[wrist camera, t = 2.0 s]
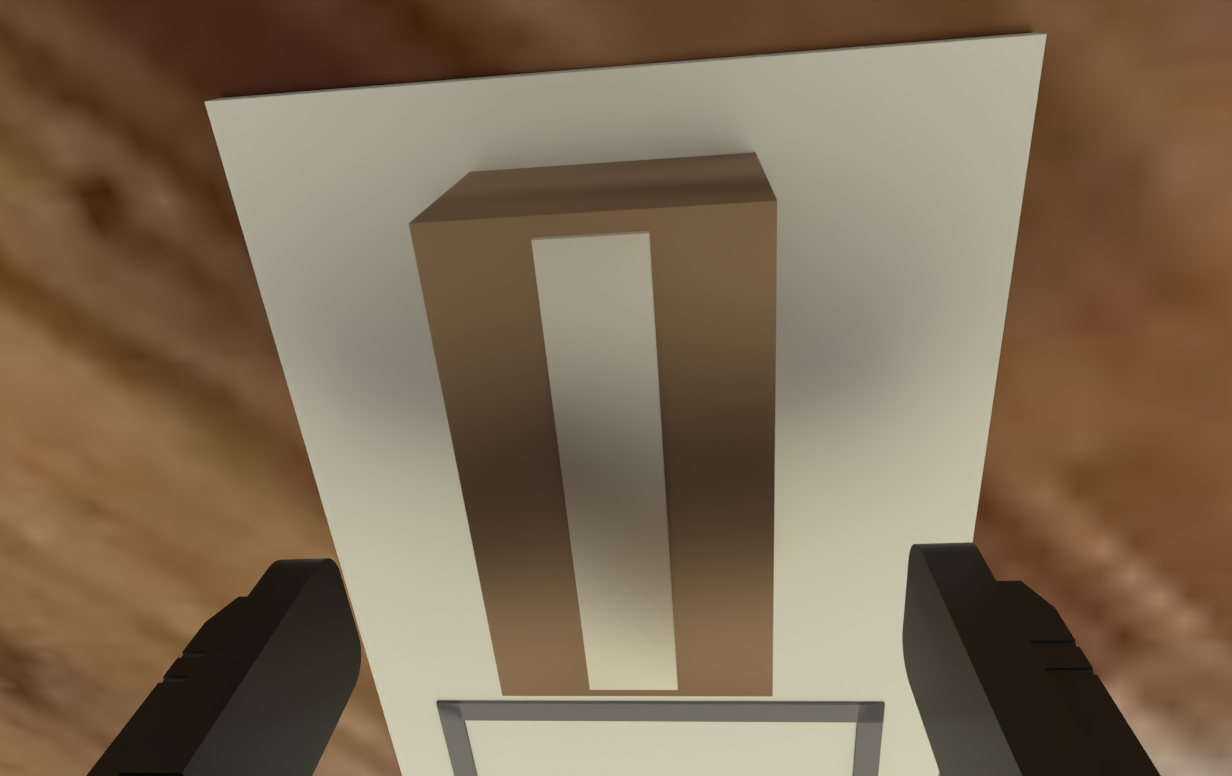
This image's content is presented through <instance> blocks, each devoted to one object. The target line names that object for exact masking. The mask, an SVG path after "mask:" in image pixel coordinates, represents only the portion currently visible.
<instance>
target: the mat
mask: <svg viewBox="0 0 1232 776" xmlns="http://www.w3.org/2000/svg"><path fill="white" fill-rule="evenodd" d="M1046 35H1047V34H1042V33H1023V34H1010V35H998V36H985V37H973V38H961V39H948V40H936V41H923V42H911V43H899V44H886V45H874V46H861V47H849V48H837V49H824V50H812V51H799V52H787V53H774V54H762V55H750V56H737V57H725V58H712V59H700V60H688V61H675V62H663V63H650V64H638V65H626V66H613V67H601V68H588V69H576V70H564V71H551V72H539V73H526V74H514V75H502V76H489V77H477V78H464V79H452V80H440V81H427V82H415V83H402V84H390V85H378V86H365V87H353V88H340V89H328V90H316V91H303V92H291V93H278V94H266V95H254V96H241V97H229V98H218V99H214V100H210V101H205V105H206V109H207V112H208V115H209V119H210V122H211V126H212V129H213V132H214V136H215V139H216V143H217V146H218V149H219V153H220V156H221V160H222V163H223V166H224V170H225V173H226V177H227V180H228V183H229V187H230V190H231V194H232V197H233V201H234V204H235V207H236V211H237V214H238V218H239V221H240V224H241V228H242V231H243V235H244V238H245V241H246V245H247V248H248V252H249V255H250V258H251V262H252V265H253V269H254V272H255V276H256V279H257V282H258V286H259V289H260V293H261V296H262V299H263V303H264V306H265V310H266V313H267V316H268V320H269V323H270V327H271V330H272V333H273V337H274V340H275V344H276V347H277V351H278V354H279V357H280V361H281V364H282V368H283V371H284V374H285V378H286V381H287V385H288V388H289V391H290V395H291V398H292V402H293V405H294V408H295V412H296V415H297V419H298V422H299V425H300V429H301V432H302V436H303V439H304V443H305V446H306V449H307V453H308V456H309V460H310V463H311V466H312V470H313V473H314V477H315V480H316V483H317V487H318V490H319V494H320V497H321V500H322V504H323V507H324V511H325V514H326V518H327V521H328V524H329V528H330V531H331V535H332V538H333V541H334V545H335V548H336V552H337V555H338V558H339V562H340V565H341V569H342V572H343V575H344V579H345V582H346V586H347V589H348V592H349V596H350V599H351V603H352V606H353V610H354V613H355V616H356V620H357V623H358V627H359V630H360V633H361V637H362V640H363V644H364V647H365V650H366V654H367V657H368V661H369V664H370V667H371V671H372V674H373V678H374V681H375V685H376V688H377V691H378V695H379V698H380V702H381V705H382V708H383V712H384V715H385V719H386V722H387V725H388V729H389V732H390V736H391V739H392V742H393V746H394V749H395V753H396V756H397V759H398V763H399V766H400V770H401V773H402V776H938V775H939V769H938V766H937V763H936V760H935V757H934V754H933V751H932V748H931V745H930V743H929V740H928V737H927V734H926V731H925V728H924V725H923V722H922V719H921V716H920V713H919V710H918V707H917V705H916V702H915V699H914V696H913V693H912V690H911V687H910V684H909V681H908V677H907V673H906V668H905V663H904V656H903V644H902V632H903V619H904V607H905V595H906V584H907V572H908V560H909V553H910V549H911V547H912V545H913V544H930V543H966V542H971V543H972V542H973V535H974V528H975V521H976V514H977V508H978V501H979V494H980V487H981V480H982V473H983V467H984V460H985V453H986V446H987V439H988V432H989V425H990V419H991V412H992V405H993V398H994V391H995V384H996V378H997V371H998V364H999V357H1000V350H1001V343H1002V336H1003V330H1004V323H1005V316H1006V309H1007V302H1008V295H1009V289H1010V282H1011V275H1012V268H1013V261H1014V254H1015V247H1016V241H1017V234H1018V227H1019V220H1020V213H1021V206H1022V200H1023V193H1024V186H1025V179H1026V172H1027V165H1028V158H1029V152H1030V145H1031V138H1032V131H1033V124H1034V117H1035V111H1036V104H1037V97H1038V90H1039V83H1040V76H1041V69H1042V63H1043V56H1044V49H1045V42H1046ZM752 152H756V154H757V157H758V159H759V161H760V163H761V165H762V168H763V170H764V172H765V174H766V177H767V179H768V181H769V183H770V185H771V188H772V190H773V192H774V194H775V197H776V199H777V285H776V390H775V495H774V600H773V696H502V691H501V686H500V681H499V676H498V671H497V666H496V661H495V656H494V651H493V646H492V641H491V636H490V631H489V626H488V621H487V616H486V611H485V606H484V601H483V596H482V591H481V586H480V580H479V575H478V570H477V565H476V560H475V555H474V550H473V545H472V540H471V535H470V530H469V525H468V520H467V515H466V510H465V505H464V500H463V495H462V490H461V485H460V480H459V475H458V470H457V465H456V459H455V454H454V449H453V444H452V439H451V434H450V429H449V424H448V419H447V414H446V409H445V404H444V399H443V394H442V389H441V384H440V379H439V374H438V369H437V364H436V359H435V354H434V349H433V344H432V338H431V333H430V328H429V323H428V318H427V313H426V308H425V303H424V298H423V293H422V288H421V283H420V278H419V273H418V268H417V263H416V258H415V253H414V248H413V243H412V238H411V233H410V228H409V223H410V222H411V221H412V220H413V219H414V218H416V217H417V216H418V215H419V214H420V213H422V212H423V211H424V210H425V209H426V208H427V207H429V206H430V205H431V204H432V203H433V202H435V201H436V200H437V199H438V198H439V197H440V196H442V195H443V194H444V193H445V192H446V191H448V190H449V189H450V188H451V187H452V186H453V185H455V184H456V183H457V182H458V181H459V180H461V179H462V178H463V177H464V176H465V175H466V174H468V173H469V172H473V171H488V170H503V169H517V168H532V167H547V166H561V165H576V164H591V163H605V162H620V161H635V160H650V159H664V158H679V157H694V156H708V155H723V154H738V153H752Z"/></svg>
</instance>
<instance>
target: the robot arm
mask: <svg viewBox="0 0 1232 776" xmlns="http://www.w3.org/2000/svg"><path fill="white" fill-rule="evenodd" d="M902 644H903V656H904V663H905V668H906V673H907V677H908V681H909V684H910V687H911V690H912V693H913V696H914V699H915V702H916V705H917V707H918V710H919V713H920V716H921V719H922V722H923V725H924V728H925V731H926V734H927V737H928V740H929V743H930V745H931V748H932V751H933V754H934V757H935V760H936V763H937V766H938V769H939V772H940V775H941V776H1160V774H1159V772H1158V771H1157V769H1156V768H1155V766H1154V764H1153V763H1152V761H1151V760H1150V758H1149V756H1148V755H1147V753H1146V752H1145V750H1144V749H1143V747H1142V745H1141V744H1140V742H1139V741H1138V739H1137V737H1136V736H1135V734H1134V733H1133V731H1132V729H1131V728H1130V726H1129V725H1128V723H1127V722H1126V720H1125V718H1124V717H1123V715H1122V714H1121V712H1120V710H1119V709H1118V707H1117V706H1116V704H1115V702H1114V701H1113V699H1112V698H1111V696H1110V695H1109V693H1108V691H1107V690H1106V688H1105V687H1104V685H1103V683H1102V682H1101V680H1100V679H1099V677H1098V675H1094V674H1093V668H1092V666H1091V664H1090V663H1089V661H1088V660H1087V658H1086V656H1085V655H1084V653H1083V652H1082V650H1081V648H1080V647H1076V643H1075V639H1074V637H1073V636H1072V634H1071V633H1070V631H1069V629H1068V628H1067V626H1066V625H1065V623H1064V621H1063V620H1062V618H1061V617H1060V615H1059V614H1058V612H1057V610H1056V609H1055V608H1054V607H1053V606H1052V605H1051V604H1049V603H1048V602H1047V601H1046V600H1044V599H1043V598H1042V597H1041V596H1039V595H1038V594H1037V593H1035V592H1034V591H1033V590H1032V589H1030V588H1029V587H1028V586H1027V585H1025V584H1024V583H1023V582H1022V581H996V580H995V578H994V576H993V575H992V573H991V571H990V569H989V567H988V566H987V564H986V562H985V560H984V558H983V557H982V555H981V553H980V551H979V550H978V548H977V547H976V545H975V544H973V543H971V542H966V543H930V544H913V545H912V547H911V549H910V553H909V560H908V572H907V584H906V595H905V607H904V619H903V632H902ZM360 664H361V645H360V640H359V636H358V632H357V629H356V625H355V622H354V619H353V615H352V612H351V608H350V605H349V601H348V598H347V595H346V591H345V588H344V584H343V581H342V577H341V574H340V571H339V568H338V566H337V564H336V563H335V562H334V561H333V560H332V559H329V558H328V559H292V560H278V561H275V562H274V563H273V564H272V565H271V566H270V567H269V568H268V569H267V571H266V572H265V574H264V575H263V576H262V578H261V579H260V580H259V582H258V583H257V584H256V586H255V587H254V588H253V590H252V591H251V593H250V594H249V595H248V597H238V598H236V599H235V600H234V601H233V602H231V603H230V604H229V605H227V606H226V607H225V608H223V609H222V610H221V611H220V612H218V613H217V614H216V615H214V616H213V617H212V618H210V619H209V620H208V621H206V622H205V623H204V625H203V626H202V627H201V629H200V630H199V631H198V632H197V634H196V635H195V636H194V638H193V639H192V640H191V642H190V643H189V644H188V645H187V647H186V648H185V649H184V651H183V656H182V658H177V660H176V661H175V662H174V663H173V665H172V666H171V667H170V669H169V670H168V671H167V672H166V674H165V675H164V676H163V677H164V680H163V682H162V683H158V684H157V685H156V687H155V688H154V689H153V691H152V692H151V693H150V694H149V696H148V697H147V698H146V700H145V701H144V702H143V703H142V705H141V706H140V707H139V709H138V710H137V711H136V712H135V714H134V715H133V716H132V718H131V719H130V720H129V722H128V723H127V724H126V725H125V727H124V728H123V729H122V731H121V732H120V733H119V734H118V736H117V737H116V738H115V740H114V741H113V742H112V743H111V745H110V746H109V747H108V749H107V750H106V751H105V753H104V754H103V755H102V756H101V758H100V759H99V760H98V762H97V763H96V764H95V765H94V767H93V768H92V769H91V771H90V772H89V773H88V774H87V776H312V775H313V773H314V771H315V769H316V766H317V764H318V762H319V760H320V758H321V756H322V754H323V752H324V750H325V748H326V746H327V744H328V741H329V739H330V737H331V735H332V733H333V731H334V729H335V727H336V725H337V723H338V721H339V719H340V716H341V714H342V712H343V710H344V708H345V706H346V704H347V702H348V700H349V698H350V696H351V694H352V691H353V689H354V687H355V685H356V682H357V679H358V675H359V671H360Z"/></svg>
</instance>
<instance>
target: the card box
mask: <svg viewBox="0 0 1232 776" xmlns="http://www.w3.org/2000/svg"><path fill="white" fill-rule="evenodd" d="M409 228H410V233H411V238H412V243H413V248H414V253H415V258H416V263H417V268H418V273H419V278H420V283H421V288H422V293H423V298H424V303H425V308H426V313H427V318H428V323H429V328H430V333H431V338H432V344H433V349H434V354H435V359H436V364H437V369H438V374H439V379H440V384H441V389H442V394H443V399H444V404H445V409H446V414H447V419H448V424H449V429H450V434H451V439H452V444H453V449H454V454H455V459H456V465H457V470H458V475H459V480H460V485H461V490H462V495H463V500H464V505H465V510H466V515H467V520H468V525H469V530H470V535H471V540H472V545H473V550H474V555H475V560H476V565H477V570H478V575H479V580H480V586H481V591H482V596H483V601H484V606H485V611H486V616H487V621H488V626H489V631H490V636H491V641H492V646H493V651H494V656H495V661H496V666H497V671H498V676H499V681H500V686H501V691H502V696H773V600H774V495H775V390H776V285H777V199H776V197H775V194H774V192H773V190H772V188H771V185H770V183H769V181H768V179H767V177H766V174H765V172H764V170H763V168H762V165H761V163H760V161H759V159H758V157H757V154H756V152H752V153H738V154H723V155H708V156H694V157H679V158H664V159H650V160H635V161H620V162H605V163H591V164H576V165H561V166H547V167H532V168H517V169H503V170H488V171H473V172H469V173H468V174H466V175H465V176H464V177H463V178H462V179H461V180H459V181H458V182H457V183H456V184H455V185H453V186H452V187H451V188H450V189H449V190H448V191H446V192H445V193H444V194H443V195H442V196H440V197H439V198H438V199H437V200H436V201H435V202H433V203H432V204H431V205H430V206H429V207H427V208H426V209H425V210H424V211H423V212H422V213H420V214H419V215H418V216H417V217H416V218H414V219H413V220H412V221H411V222H410V223H409Z"/></svg>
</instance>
